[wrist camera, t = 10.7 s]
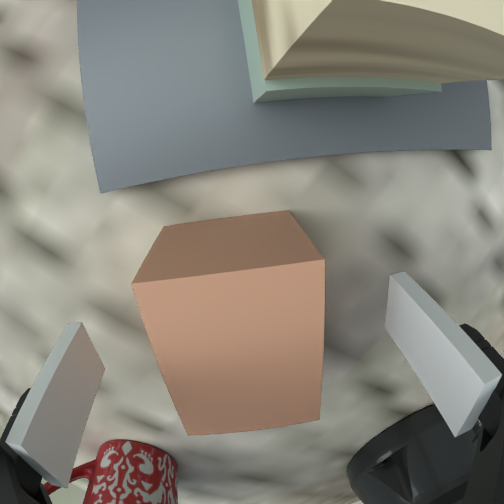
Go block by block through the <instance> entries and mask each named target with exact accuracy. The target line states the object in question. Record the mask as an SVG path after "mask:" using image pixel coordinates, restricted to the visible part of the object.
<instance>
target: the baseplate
mask: <svg viewBox="0 0 504 504" xmlns="http://www.w3.org/2000/svg"><path fill="white" fill-rule="evenodd" d="M77 25H78V46H79V60H80V72H81V82H82V91H83V99H84V107H85V114H86V121H87V127H88V133H89V139H90V145H91V150H92V156H93V161H94V166H95V171H96V175H97V180H98V185H99V189H100V193H105V192H109V191H113V190H118V189H122V188H126V187H131V186H135V185H140V184H144V183H149V182H154V181H158V180H163V179H168V178H173V177H179V176H184V175H189V174H195V173H200V172H206V171H212V170H218V169H224V168H230V167H237V166H244V165H250V164H257V163H265V162H272V161H280V160H289V159H297V158H306V157H316V156H327V155H338V154H350V153H364V152H380V151H401V150H442V149H462V150H491V123H490V109H489V98H488V89H487V81H486V80H478V81H462V82H450V83H433V82H425V81H416V80H406V79H393V78H377V77H300V78H283V79H270V80H264V79H263V72H262V65H261V58H260V51H259V45H258V38H257V32H256V25H255V19H254V13H253V7H252V1H251V0H77Z"/></svg>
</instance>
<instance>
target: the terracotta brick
mask: <svg viewBox="0 0 504 504" xmlns="http://www.w3.org/2000/svg"><path fill="white" fill-rule="evenodd" d="M131 284H132V288H133V291H134V295H135V298H136V301H137V304H138V308H139V311H140V314H141V317H142V320H143V323H144V326H145V329H146V332H147V335H148V338H149V341H150V343H151V346H152V349H153V352H154V355H155V357H156V360H157V363H158V365H159V368H160V371H161V373H162V376H163V378H164V381H165V383H166V386H167V388H168V391H169V393H170V396H171V398H172V401H173V403H174V405H175V408H176V410H177V412H178V415H179V417H180V419H181V421H182V424H183V426H184V428H185V430H186V432H187V434H188V435H209V434H223V433H234V432H244V431H253V430H261V429H268V428H275V427H282V426H288V425H294V424H300V423H305V422H311V421H316V420H319V418H320V405H321V390H322V372H323V350H324V315H325V259H324V258H323V256H322V255H321V253H320V252H319V251H318V249H317V248H316V247H315V245H314V244H313V242H312V241H311V240H310V238H309V237H308V236H307V234H306V233H305V232H304V230H303V229H302V228H301V226H300V225H299V224H298V222H297V221H296V220H295V218H294V217H293V216H292V214H291V213H290V212H289V210H286V211H277V212H268V213H260V214H252V215H244V216H236V217H228V218H220V219H213V220H205V221H198V222H191V223H184V224H177V225H170V226H164V227H163V228H162V230H161V232H160V234H159V235H158V237H157V239H156V240H155V242H154V244H153V246H152V247H151V249H150V251H149V253H148V254H147V256H146V258H145V260H144V261H143V263H142V265H141V267H140V269H139V271H138V272H137V274H136V276H135V278H134V280H133V282H132V283H131Z"/></svg>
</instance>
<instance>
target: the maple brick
mask: <svg viewBox="0 0 504 504" xmlns="http://www.w3.org/2000/svg"><path fill="white" fill-rule="evenodd" d="M251 1H252V7H253V13H254V19H255V25H256V32H257V38H258V45H259V51H260V58H261V65H262V72H263V79H264V80H270V79H283V78H300V77H377V78H393V79H406V80H416V81H425V82H433V83H450V82H462V81H478V80H504V0H251Z"/></svg>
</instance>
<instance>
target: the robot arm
mask: <svg viewBox="0 0 504 504" xmlns="http://www.w3.org/2000/svg"><path fill="white" fill-rule="evenodd" d="M384 328H385V329H386V330H387V332H388V333H389V335H390V336H391V338H392V339H393V341H394V342H395V344H396V345H397V346H398V348H399V349H400V351H401V352H402V354H403V355H404V357H405V358H406V360H407V361H408V363H409V364H410V366H411V367H412V369H413V370H414V372H415V374H416V375H417V377H418V378H419V380H420V381H421V383H422V384H423V386H424V388H425V389H426V391H427V392H428V394H429V395H430V397H431V399H432V400H433V402H434V403H435V405H433V406H430V407H428V408H425V409H423V410H421V411H419V412H417V413H415V414H413V415H411V416H409V417H407V418H405V419H404V420H402V421H400V422H398V423H397V424H395V425H393V426H392V427H390V428H389V429H387V430H386V431H384V432H383V433H381V434H380V435H378V436H377V437H376V438H374V439H373V440H372V441H370V442H369V443H368V444H367V445H366V446H364V447H363V448H362V449H361V450H360V451H359V452H358V453H357V454H356V455H355V456H354V458H353V459H352V460H351V462H350V463H349V465H348V468H347V476H348V479H349V482H350V485H351V488H352V490H353V491H354V493H355V494H356V495H357V496H358V497H359V499H360V500H361V501H362V502H363V503H364V504H504V359H503V358H502V357H501V355H500V354H499V353H498V352H497V351H496V350H495V349H494V348H493V347H491V345H490V343H489V342H488V341H487V340H485V339H484V337H483V336H482V335H481V334H480V333H479V332H478V331H477V330H476V329H474V328H473V327H471V326H469V325H467V324H462V325H460V326H459V325H458V324H457V323H456V322H455V321H454V320H453V319H452V318H451V317H450V316H449V315H448V314H447V313H446V312H445V311H444V310H443V309H442V308H441V307H440V306H439V305H438V304H437V303H436V301H435V300H434V299H433V298H432V297H431V296H430V295H429V294H428V293H427V292H426V291H424V290H423V289H422V288H421V287H420V286H419V285H418V284H417V283H416V282H415V281H414V280H413V279H412V278H411V277H410V276H409V275H408V274H407V273H406V272H401V273H396V274H391V275H390V277H389V289H388V299H387V308H386V317H385V325H384ZM104 371H105V367H104V365H103V363H102V362H101V360H100V358H99V356H98V354H97V352H96V350H95V348H94V346H93V344H92V342H91V340H90V338H89V336H88V334H87V332H86V330H85V327H84V325H83V323H82V322H78V323H68V325H67V326H66V328H65V330H64V331H63V333H62V334H61V336H60V338H59V339H58V341H57V343H56V344H55V346H54V348H53V350H52V351H51V353H50V355H49V357H48V358H47V360H46V362H45V364H44V365H43V367H42V369H41V371H40V373H39V374H38V376H37V378H36V380H35V382H34V384H33V386H32V387H31V388H29V389H28V390H27V391H26V392H25V393H24V394H23V395H22V396H21V397H20V399H19V401H18V403H17V405H16V408H15V409H14V411H13V413H12V416H11V417H10V419H9V421H8V423H7V426H6V428H5V430H4V432H3V434H2V437H1V439H0V504H52V502H51V500H50V497H49V495H48V493H47V491H46V488H45V487H44V485H43V484H42V483H41V480H42V477H43V478H44V479H45V480H46V481H48V482H49V483H50V484H51V485H55V486H59V487H64V488H68V485H69V481H70V477H71V473H72V470H73V466H74V462H75V459H76V455H77V452H78V448H79V445H80V442H81V439H82V435H83V432H84V429H85V426H86V423H87V420H88V417H89V414H90V411H91V408H92V405H93V402H94V399H95V396H96V393H97V390H98V387H99V385H100V382H101V379H102V376H103V374H104ZM478 419H479V420H480V422H481V423H482V425H481V427H480V426H479V421H478Z"/></svg>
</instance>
